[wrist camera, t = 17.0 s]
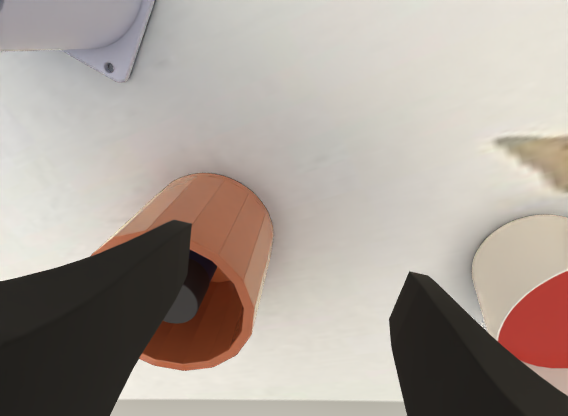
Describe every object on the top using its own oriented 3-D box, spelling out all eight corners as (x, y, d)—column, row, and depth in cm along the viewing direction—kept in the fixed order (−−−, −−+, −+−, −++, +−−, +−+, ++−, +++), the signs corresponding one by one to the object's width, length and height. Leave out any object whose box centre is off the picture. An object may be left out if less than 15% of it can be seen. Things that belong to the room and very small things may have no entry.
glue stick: (190, 251, 24) (147, 321, 18) (187, 215, 22) (139, 277, 17) (230, 255, 23) (199, 326, 18) (229, 218, 22) (195, 282, 16)
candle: (542, 335, 24) (609, 425, 19) (425, 288, 24) (457, 367, 18) (648, 230, 20) (773, 303, 15) (511, 171, 20) (587, 224, 14)
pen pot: (135, 246, 25) (64, 324, 18) (179, 148, 21) (111, 198, 14) (239, 299, 26) (209, 392, 19) (296, 214, 22) (285, 289, 16)
